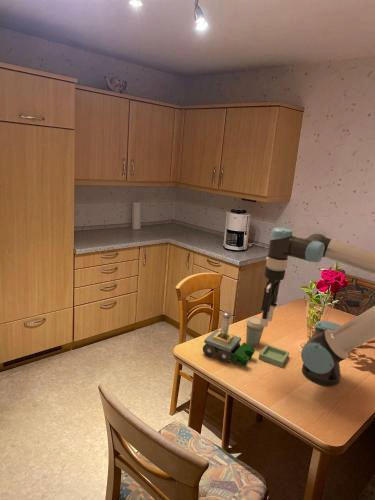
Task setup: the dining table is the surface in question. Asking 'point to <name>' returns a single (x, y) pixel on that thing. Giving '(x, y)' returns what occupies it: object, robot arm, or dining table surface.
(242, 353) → the clamp
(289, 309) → the dining table surface
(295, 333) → the dining table surface
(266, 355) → the tray
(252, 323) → the coffee cup
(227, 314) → the pin
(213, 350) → the toy cart
